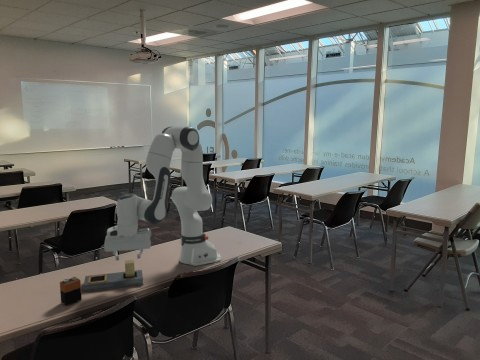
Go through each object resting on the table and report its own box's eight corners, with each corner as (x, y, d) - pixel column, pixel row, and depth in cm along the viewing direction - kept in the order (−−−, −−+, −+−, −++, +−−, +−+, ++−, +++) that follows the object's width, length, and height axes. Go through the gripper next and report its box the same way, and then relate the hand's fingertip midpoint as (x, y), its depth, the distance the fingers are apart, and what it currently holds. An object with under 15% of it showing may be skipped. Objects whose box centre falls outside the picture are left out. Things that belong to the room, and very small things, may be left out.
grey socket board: (142, 275, 178) (141, 269, 178) (143, 284, 169) (142, 277, 169) (85, 282, 171) (85, 275, 170) (83, 291, 162) (83, 284, 161)
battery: (60, 302, 152) (59, 279, 150) (76, 296, 157) (75, 274, 155) (65, 306, 149) (64, 282, 147) (82, 300, 154) (80, 277, 153)
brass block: (134, 278, 174) (133, 259, 173) (134, 281, 171) (134, 262, 169) (125, 279, 173) (124, 260, 172) (125, 282, 170) (124, 263, 168)
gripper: (150, 226, 174) (151, 254, 176) (104, 229, 168) (105, 258, 170) (151, 230, 168) (152, 259, 170) (103, 232, 162) (104, 263, 164)
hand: (128, 259), depth 170 cm, fingers open, 8 cm apart
